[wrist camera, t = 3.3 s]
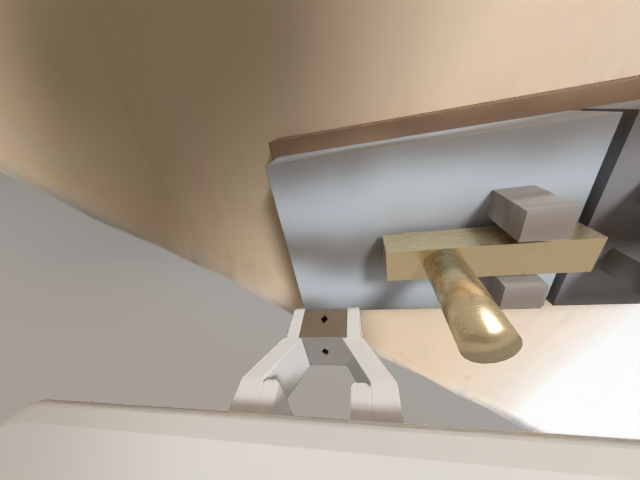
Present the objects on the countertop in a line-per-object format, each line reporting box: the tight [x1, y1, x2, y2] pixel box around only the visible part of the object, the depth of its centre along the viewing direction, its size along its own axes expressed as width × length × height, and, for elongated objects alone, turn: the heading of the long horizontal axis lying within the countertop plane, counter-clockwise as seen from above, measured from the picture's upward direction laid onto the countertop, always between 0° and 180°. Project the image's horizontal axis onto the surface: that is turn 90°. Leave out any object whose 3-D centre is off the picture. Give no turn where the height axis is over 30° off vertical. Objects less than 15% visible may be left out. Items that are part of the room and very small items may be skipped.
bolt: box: [382, 221, 608, 363], centre depth 11 cm, size 2×10×7 cm, turn 100°
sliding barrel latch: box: [265, 75, 640, 310], centre depth 14 cm, size 14×32×8 cm, turn 100°
